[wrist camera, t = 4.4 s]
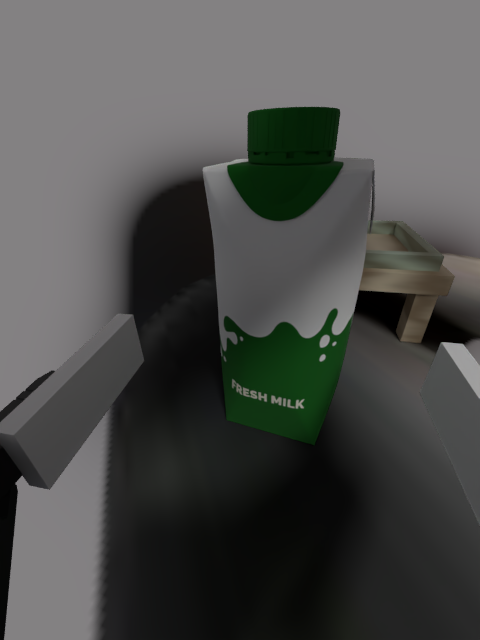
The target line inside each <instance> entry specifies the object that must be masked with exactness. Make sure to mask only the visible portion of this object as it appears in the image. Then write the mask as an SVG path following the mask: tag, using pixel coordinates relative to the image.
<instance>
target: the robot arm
mask: <svg viewBox="0 0 480 640" xmlns="http://www.w3.org/2000/svg"><path fill="white" fill-rule="evenodd" d="M143 362H144V358H143V354H142V350H141V346H140V342H139V338H138V334H137V330H136V326H135V322H134V318H133V315H128V314H117V315H116V316H115V317H114V318H113V319H112V320H111V321H109V322H108V323H107V324H106V325H105V326H104V327H103V328H102V329H101V330H100V331H99V332H98V333H96V334H95V335H94V336H93V337H92V338H91V339H90V340H89V341H88V342H87V343H86V344H85V345H83V346H82V347H81V348H80V349H79V350H78V351H77V352H76V353H75V354H74V355H73V356H72V357H70V358H69V359H68V360H67V361H66V362H65V363H64V364H63V365H62V366H61V367H60V368H59V369H57V370H56V371H51V372H49V373H47V374H45V375H43V376H42V377H40V378H38V379H37V380H36V381H34V382H33V383H32V384H31V385H30V386H29V387H28V388H27V389H26V391H23V392H22V393H21V394H20V395H19V396H18V397H16V400H13V401H12V402H11V403H10V404H9V405H7V406H6V407H5V408H4V409H3V410H2V411H1V412H0V640H4V634H5V623H6V613H7V602H8V591H9V580H10V570H11V559H12V547H13V537H14V526H15V516H16V504H17V494H18V490H17V485H15V483H16V482H17V480H18V479H19V478H20V477H21V476H23V477H24V478H25V479H26V481H27V482H28V484H29V485H31V486H36V487H40V488H45V489H50V488H51V487H52V485H53V484H54V483H55V482H56V480H57V479H58V477H59V476H60V475H61V473H62V472H63V471H64V469H65V468H66V467H67V465H68V464H69V463H70V461H71V460H72V458H73V457H74V456H75V454H76V453H77V452H78V450H79V449H80V448H81V446H82V445H83V443H84V442H85V441H86V439H87V438H88V437H89V435H90V434H91V433H92V431H93V430H94V428H95V427H96V426H97V424H98V423H99V421H100V420H101V419H102V418H103V416H104V415H105V413H106V412H107V411H108V409H109V408H110V407H111V405H112V404H113V403H114V401H115V400H116V398H117V397H118V396H119V394H120V393H121V392H122V390H123V389H124V388H125V386H126V385H127V383H128V382H129V381H130V379H131V378H132V377H133V375H134V374H135V373H136V371H137V370H138V368H139V367H140V366H141V364H142V363H143ZM420 395H421V397H422V399H423V401H424V404H425V406H426V408H427V410H428V413H429V415H430V417H431V419H432V421H433V424H434V426H435V428H436V430H437V432H438V435H439V437H440V439H441V441H442V444H443V446H444V448H445V450H446V452H447V455H448V457H449V459H450V461H451V463H452V466H453V468H454V470H455V472H456V475H457V477H458V479H459V481H460V483H461V486H462V488H463V490H464V492H465V494H466V497H467V499H468V501H469V503H470V506H471V508H472V510H473V512H474V514H475V517H476V519H477V521H478V523H479V525H480V365H479V364H478V363H477V362H476V360H475V359H474V358H473V356H472V355H471V354H470V352H469V351H468V350H467V349H466V347H465V346H464V345H463V344H457V343H446V342H441V344H440V346H439V348H438V351H437V353H436V356H435V358H434V360H433V363H432V365H431V367H430V370H429V372H428V374H427V377H426V379H425V381H424V384H423V386H422V388H421V391H420Z"/></svg>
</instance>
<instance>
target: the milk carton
mask: <svg viewBox="0 0 480 640" xmlns="http://www.w3.org/2000/svg"><path fill="white" fill-rule="evenodd" d="M339 117H340V110H339V109H337V108H329V107H289V108H273V109H263V110H256V111H252V112H249V113H248V150H247V151H248V159H238V160H234V161H233V162H228V163H223V164H217V165H212V166H208V167H204V168H203V177H204V182H205V188H206V195H207V201H208V207H209V213H210V220H211V227H212V234H213V240H214V252H215V253H214V254H215V269H216V284H217V299H218V314H219V329H220V344H221V359H222V374H223V385H224V396H225V408H226V420H228V421H232V422H235V423H239V424H242V425H246V426H249V427H253V428H256V429H260V430H263V431H266V432H270V433H273V434H277V435H280V436H284V437H287V438H291V439H294V440H298V441H301V442H305V443H308V444H311V445H315V443H316V440H317V437H318V435H319V432H320V430H321V427H322V424H323V422H324V419H325V417H326V414H327V411H328V409H329V406H330V403H331V401H332V398H333V395H334V392H335V389H336V386H337V383H338V379H339V376H340V372H341V368H342V364H343V360H344V356H345V351H346V347H347V342H348V337H349V333H350V328H351V324H352V319H353V314H354V310H355V305H356V301H357V296H358V291H359V287H360V282H361V277H362V273H363V267H364V261H365V254H366V243H367V230H368V218H369V208H370V197H371V187H372V190H373V191H372V211H371V220H370V228H369V231H370V234H371V231H372V225H373V217H374V208H375V207H374V206H375V205H374V204H375V184H374V183H375V181H374V161H373V160H372V159H358V158H334V155H335V150H336V142H337V134H338V126H339ZM372 184H373V186H372Z"/></svg>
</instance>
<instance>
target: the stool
mask: <svg viewBox="0 0 480 640" xmlns="http://www.w3.org/2000/svg"><path fill="white" fill-rule="evenodd" d="M369 228H370V221H368V230H367V243H366V254H365V261H364V267H363V273H362V277H361V282H360V287H359V290H365V291H380V292H395V293H408V294H407V298H406V301H405V304H404V307H403V310H402V313H401V316H400V320H399V323H398V326H397V329H396V333H397V335H398V337H399V339H400V341H402V342H413V343H421V340H422V338H423V335H424V332H425V330H426V327H427V324H428V322H429V319H430V317H431V314H432V311H433V309H434V306H435V303H436V301H437V298H438V296H439V295H441V296H447V295H448V292H449V290H450V287H451V285H452V282H453V280H454V277H455V276H454V275H453V274H452V273H451V272H450V271H448V270H447V269H446V268H445V267H444V266H443V265H442V262H443V259H444V256H443V255H442V254H441V253H440V252H438V251H437V250H436V249H435V248H434V247H433V246H431V245H430V244H429V243H428V242H427V241H425V240H424V239H423V238H422V237H420V235H418V234H417V233H416V232H415V231H414V230H412V229H411V228H410V227H409V226H407V224H405V223H404V222H403V221H373V225H372V231H371V234H370V231H369Z"/></svg>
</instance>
